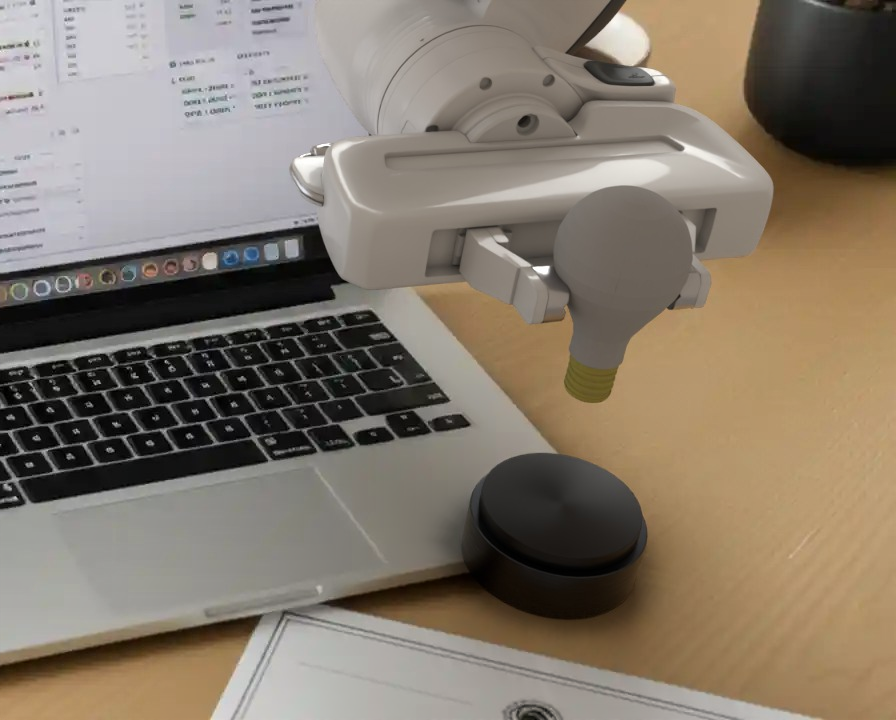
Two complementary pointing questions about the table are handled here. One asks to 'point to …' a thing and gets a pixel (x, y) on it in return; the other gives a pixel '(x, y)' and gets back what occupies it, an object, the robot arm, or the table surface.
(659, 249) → the light bulb
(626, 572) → the black round lamp base
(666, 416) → the table surface
